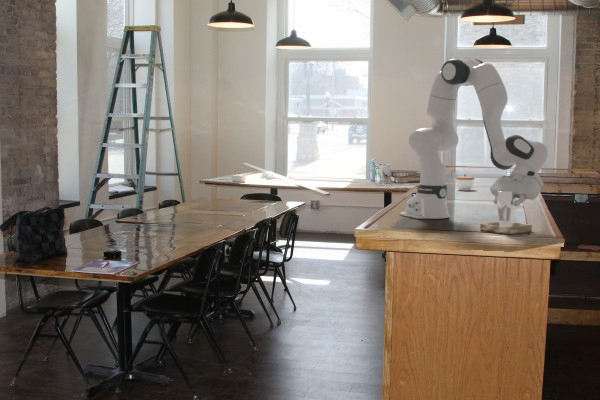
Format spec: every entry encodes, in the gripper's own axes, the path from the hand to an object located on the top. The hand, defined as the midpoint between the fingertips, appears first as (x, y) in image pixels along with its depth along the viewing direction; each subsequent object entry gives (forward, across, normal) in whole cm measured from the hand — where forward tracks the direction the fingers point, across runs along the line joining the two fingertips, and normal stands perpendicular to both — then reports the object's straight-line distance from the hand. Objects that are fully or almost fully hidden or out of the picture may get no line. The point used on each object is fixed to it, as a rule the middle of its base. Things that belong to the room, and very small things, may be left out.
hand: (505, 204), depth 286 cm
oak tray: (+7, 0, +8) cm, 10 cm away
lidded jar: (-69, -115, +84) cm, 159 cm away
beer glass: (+6, 0, +8) cm, 10 cm away
